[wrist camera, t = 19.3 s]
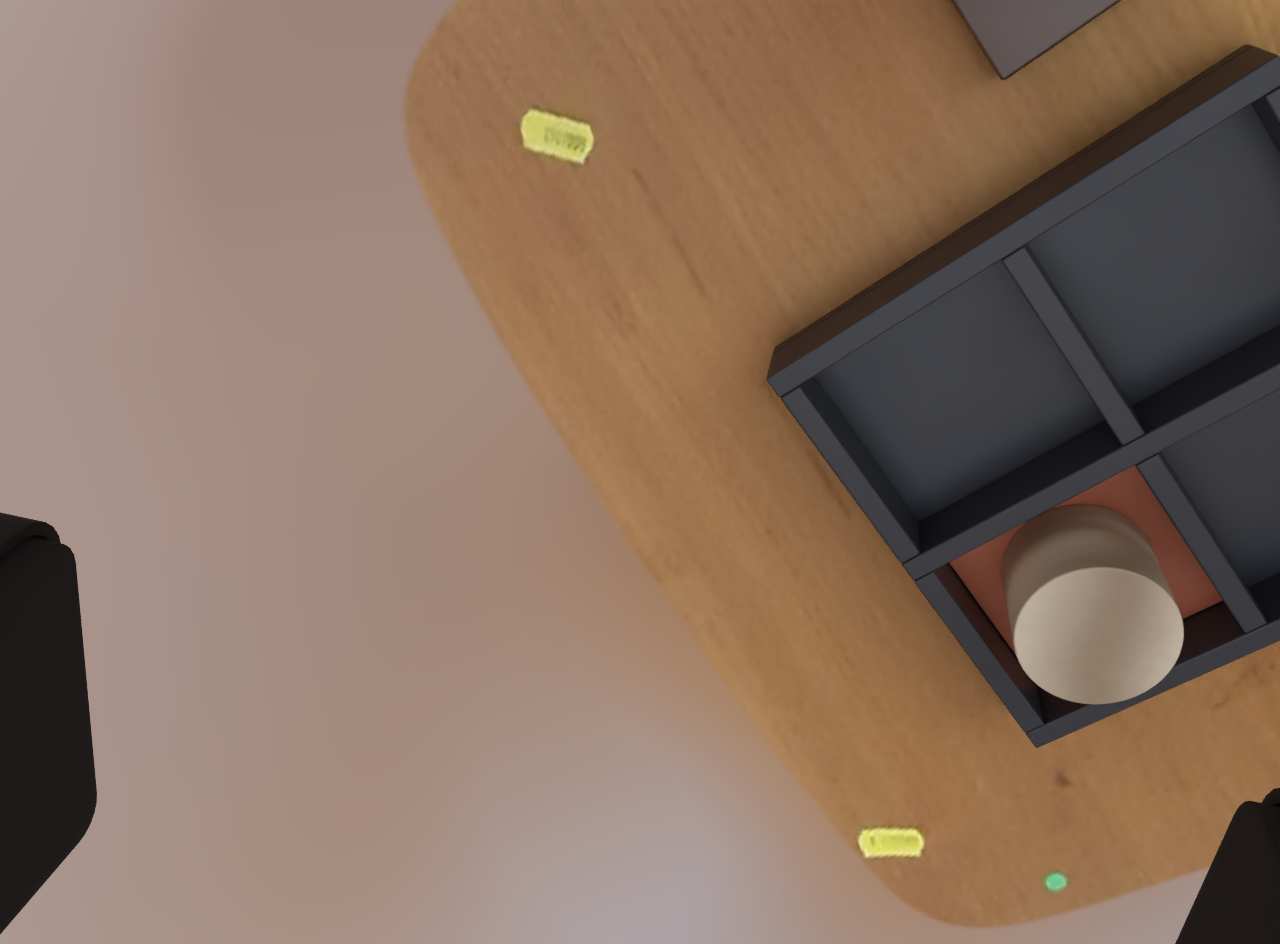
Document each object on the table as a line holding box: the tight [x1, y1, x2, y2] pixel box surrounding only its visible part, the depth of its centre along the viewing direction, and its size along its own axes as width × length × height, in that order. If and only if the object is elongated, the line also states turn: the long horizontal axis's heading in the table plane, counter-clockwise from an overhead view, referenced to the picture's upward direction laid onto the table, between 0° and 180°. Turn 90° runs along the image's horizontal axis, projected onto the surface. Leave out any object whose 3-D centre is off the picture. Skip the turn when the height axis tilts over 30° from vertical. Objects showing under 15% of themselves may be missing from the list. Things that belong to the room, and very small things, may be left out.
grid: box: [766, 44, 1280, 748], centre depth 35 cm, size 15×15×3 cm
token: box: [1002, 505, 1184, 704], centre depth 36 cm, size 5×5×4 cm
